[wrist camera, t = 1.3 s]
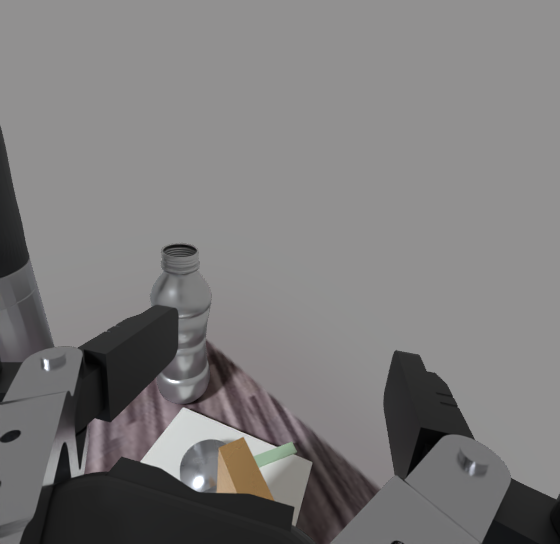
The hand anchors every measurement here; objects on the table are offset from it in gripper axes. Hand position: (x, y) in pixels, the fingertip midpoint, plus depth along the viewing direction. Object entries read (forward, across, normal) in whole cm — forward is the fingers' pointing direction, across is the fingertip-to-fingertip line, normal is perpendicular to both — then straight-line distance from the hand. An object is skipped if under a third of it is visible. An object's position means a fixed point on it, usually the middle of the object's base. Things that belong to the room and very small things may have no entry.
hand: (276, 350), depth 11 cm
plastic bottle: (+22, +15, +22) cm, 34 cm away
